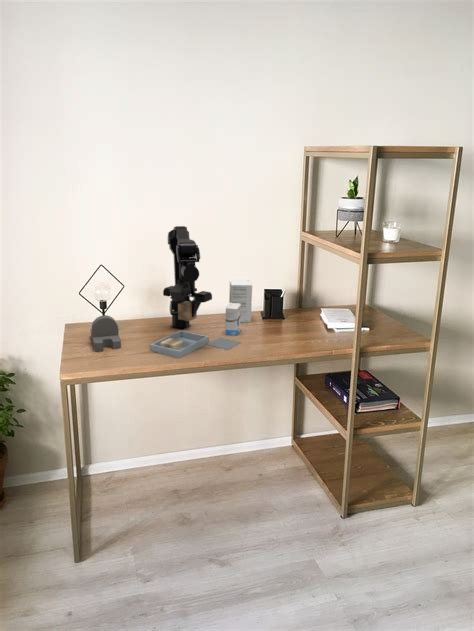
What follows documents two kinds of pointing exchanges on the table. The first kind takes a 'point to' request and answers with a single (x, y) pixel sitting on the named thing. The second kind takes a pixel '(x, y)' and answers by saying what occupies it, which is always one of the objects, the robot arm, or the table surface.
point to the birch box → (172, 344)
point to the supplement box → (242, 297)
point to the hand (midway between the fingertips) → (187, 315)
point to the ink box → (233, 318)
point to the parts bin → (189, 344)
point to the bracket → (105, 333)
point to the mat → (223, 343)
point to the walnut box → (185, 311)
